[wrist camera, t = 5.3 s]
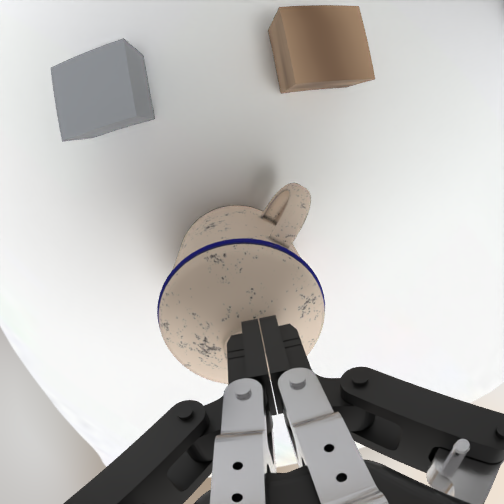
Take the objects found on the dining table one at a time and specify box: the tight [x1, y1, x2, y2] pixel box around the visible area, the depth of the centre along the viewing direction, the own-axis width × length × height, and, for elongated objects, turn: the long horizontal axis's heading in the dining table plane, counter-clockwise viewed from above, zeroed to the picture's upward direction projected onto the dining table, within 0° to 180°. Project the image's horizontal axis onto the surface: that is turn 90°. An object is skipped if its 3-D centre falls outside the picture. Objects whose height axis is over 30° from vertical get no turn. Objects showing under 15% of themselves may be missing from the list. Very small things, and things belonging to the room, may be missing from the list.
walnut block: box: [268, 5, 375, 93], centre depth 17 cm, size 5×5×5 cm
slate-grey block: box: [51, 39, 155, 142], centre depth 17 cm, size 5×5×5 cm
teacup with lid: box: [157, 183, 325, 384], centre depth 19 cm, size 12×9×12 cm
